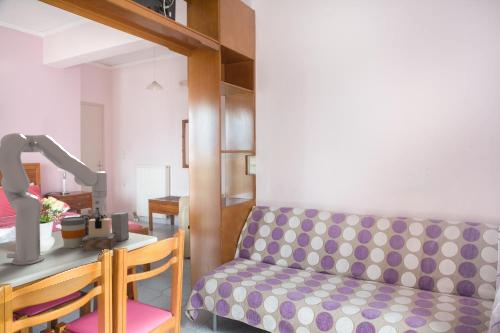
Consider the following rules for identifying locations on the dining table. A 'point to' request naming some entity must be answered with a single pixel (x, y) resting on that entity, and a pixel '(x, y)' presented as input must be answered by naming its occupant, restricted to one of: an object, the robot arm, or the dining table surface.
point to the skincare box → (120, 226)
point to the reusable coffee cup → (73, 231)
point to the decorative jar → (89, 216)
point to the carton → (102, 232)
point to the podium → (99, 242)
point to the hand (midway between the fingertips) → (99, 226)
